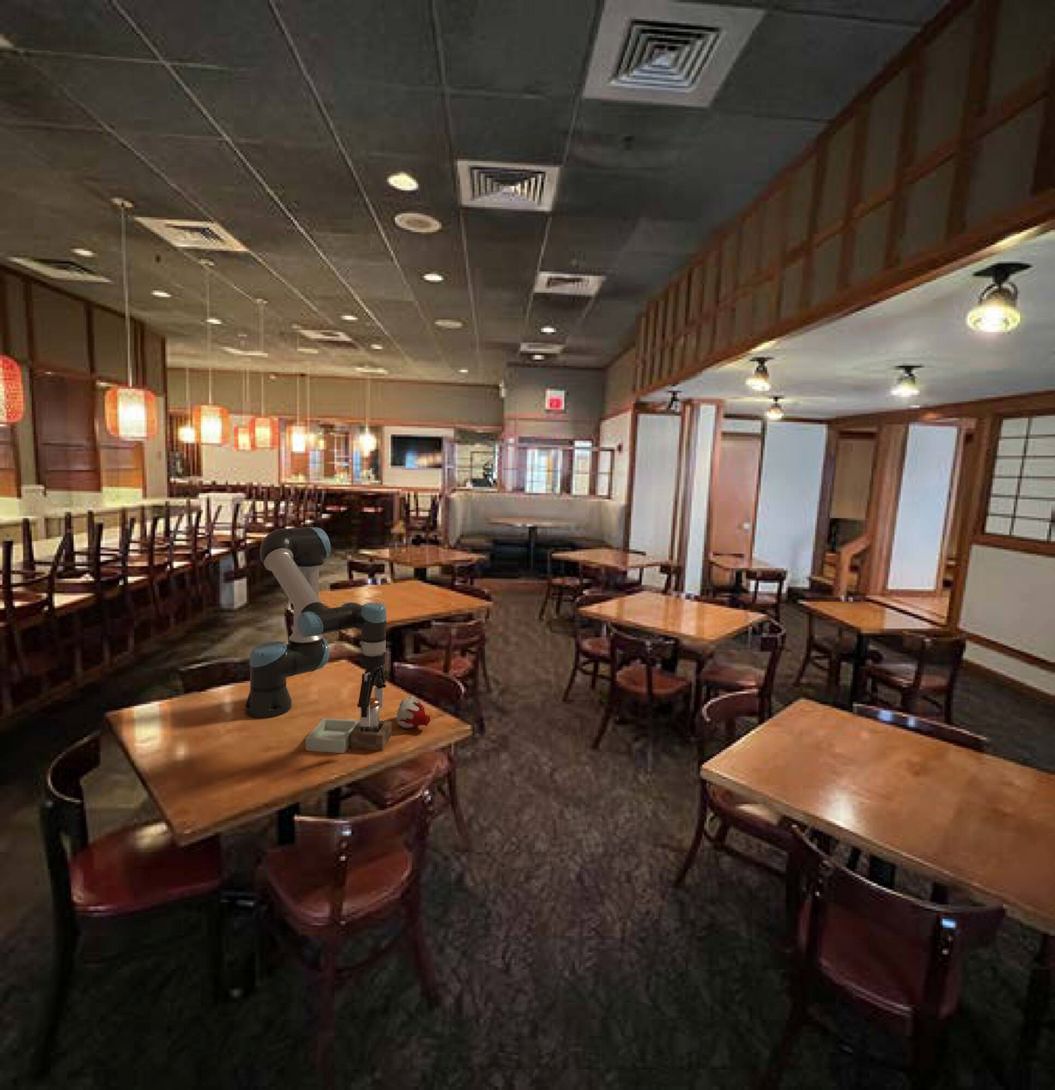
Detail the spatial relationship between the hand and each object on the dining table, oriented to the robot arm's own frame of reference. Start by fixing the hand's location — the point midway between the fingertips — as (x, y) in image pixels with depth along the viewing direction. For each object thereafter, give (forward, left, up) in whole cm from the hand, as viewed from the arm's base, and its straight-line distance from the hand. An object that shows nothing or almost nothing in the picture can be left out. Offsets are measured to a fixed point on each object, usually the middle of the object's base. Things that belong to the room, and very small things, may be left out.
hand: (372, 716), depth 177 cm
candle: (-13, +10, -9) cm, 19 cm away
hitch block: (0, 0, -9) cm, 9 cm away
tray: (+1, -12, -9) cm, 15 cm away
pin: (0, 0, -9) cm, 9 cm away
